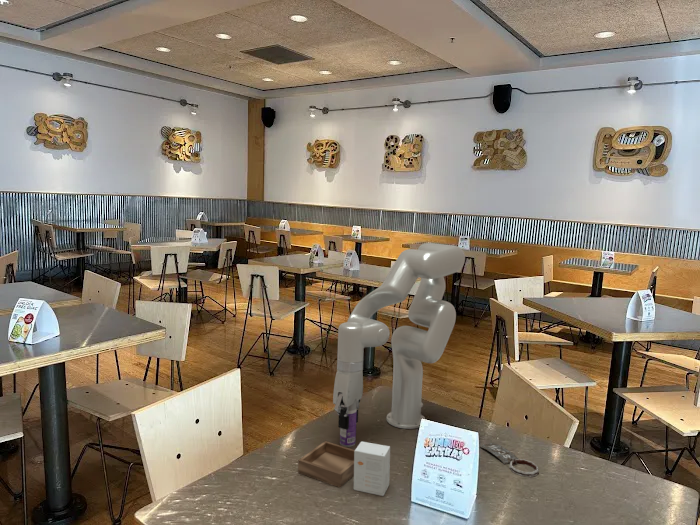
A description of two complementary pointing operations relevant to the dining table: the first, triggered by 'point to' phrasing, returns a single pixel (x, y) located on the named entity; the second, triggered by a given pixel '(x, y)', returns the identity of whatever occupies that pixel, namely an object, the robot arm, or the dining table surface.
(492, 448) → the keychain
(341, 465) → the tray
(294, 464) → the dining table surface
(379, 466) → the small box
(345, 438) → the container
